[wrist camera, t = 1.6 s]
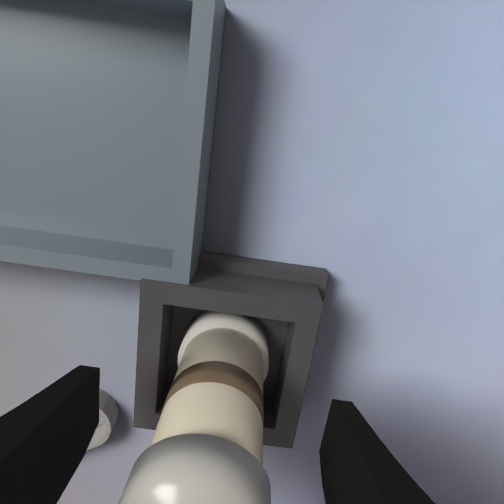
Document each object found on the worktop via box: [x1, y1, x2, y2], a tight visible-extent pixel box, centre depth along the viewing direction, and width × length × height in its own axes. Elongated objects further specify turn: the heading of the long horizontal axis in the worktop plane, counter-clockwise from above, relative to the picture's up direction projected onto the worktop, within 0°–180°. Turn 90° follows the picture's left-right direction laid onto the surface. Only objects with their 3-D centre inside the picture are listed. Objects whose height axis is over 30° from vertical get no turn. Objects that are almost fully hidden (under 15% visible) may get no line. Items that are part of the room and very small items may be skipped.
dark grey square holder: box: [133, 251, 329, 448], centre depth 15 cm, size 7×7×3 cm
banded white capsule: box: [118, 310, 271, 504], centre depth 12 cm, size 3×3×8 cm
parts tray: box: [0, 0, 226, 285], centre depth 13 cm, size 11×9×2 cm
